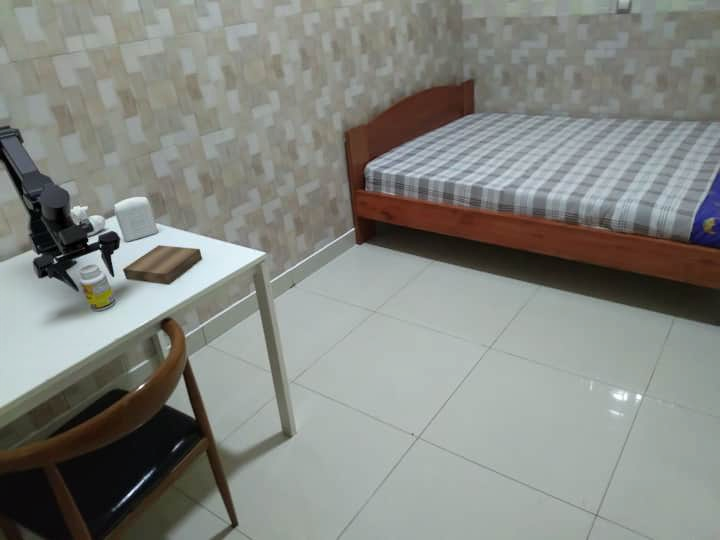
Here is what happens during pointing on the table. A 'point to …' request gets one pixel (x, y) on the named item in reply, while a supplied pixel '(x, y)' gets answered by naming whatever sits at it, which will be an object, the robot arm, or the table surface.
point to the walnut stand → (162, 264)
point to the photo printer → (135, 218)
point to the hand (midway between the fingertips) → (96, 283)
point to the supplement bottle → (96, 288)
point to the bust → (96, 221)
